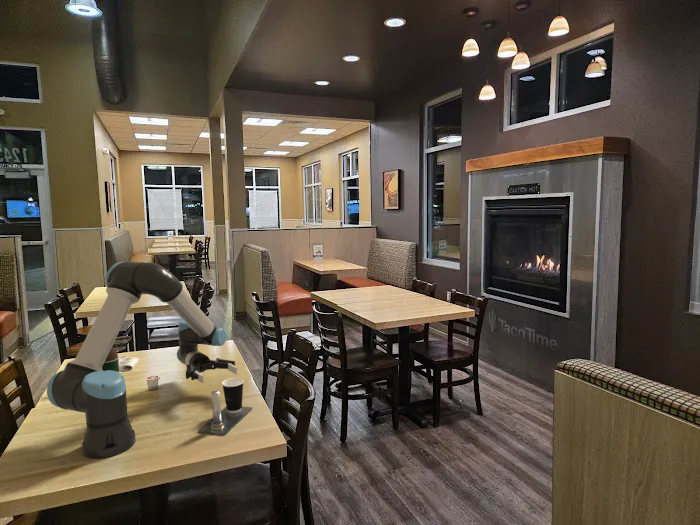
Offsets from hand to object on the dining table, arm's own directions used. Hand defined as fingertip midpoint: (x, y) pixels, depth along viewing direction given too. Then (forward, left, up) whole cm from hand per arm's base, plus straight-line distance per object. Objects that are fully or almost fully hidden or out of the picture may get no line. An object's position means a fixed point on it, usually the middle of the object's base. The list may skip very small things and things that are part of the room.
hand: (219, 374), depth 175 cm
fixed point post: (-18, -9, -12) cm, 23 cm away
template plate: (-12, -9, -12) cm, 19 cm away
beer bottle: (+9, +59, -12) cm, 61 cm away
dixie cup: (-6, -9, -11) cm, 15 cm away
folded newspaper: (+27, +70, -12) cm, 76 cm away
